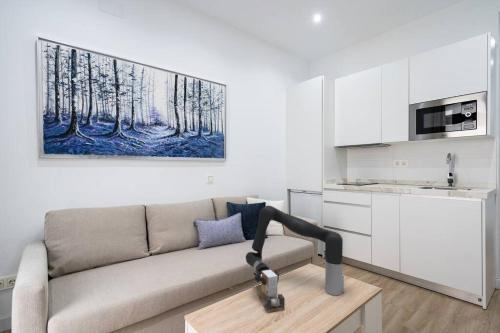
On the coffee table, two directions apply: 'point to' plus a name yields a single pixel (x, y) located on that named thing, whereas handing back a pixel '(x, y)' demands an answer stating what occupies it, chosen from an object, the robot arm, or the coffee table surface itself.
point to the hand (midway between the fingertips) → (271, 282)
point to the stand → (273, 303)
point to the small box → (270, 283)
